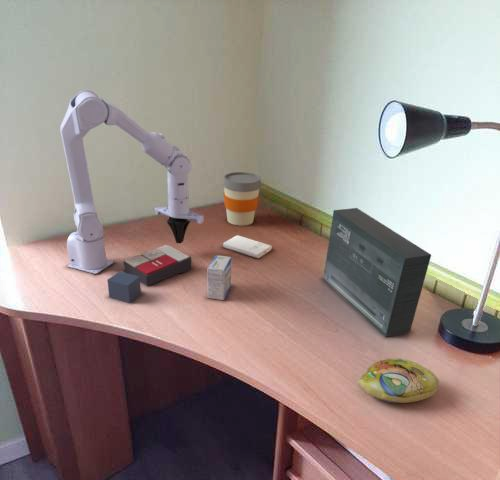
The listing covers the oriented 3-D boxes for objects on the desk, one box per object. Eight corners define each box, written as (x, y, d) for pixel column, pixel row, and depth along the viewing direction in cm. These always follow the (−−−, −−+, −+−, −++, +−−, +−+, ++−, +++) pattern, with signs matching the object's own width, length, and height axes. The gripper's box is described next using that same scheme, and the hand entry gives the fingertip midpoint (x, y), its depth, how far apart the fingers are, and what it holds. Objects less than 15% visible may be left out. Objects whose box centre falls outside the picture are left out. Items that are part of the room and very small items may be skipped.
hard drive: (237, 239, 156) (271, 249, 150) (222, 247, 150) (257, 259, 144) (237, 234, 155) (271, 244, 149) (222, 242, 149) (257, 254, 144)
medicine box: (223, 301, 123) (224, 270, 118) (206, 298, 124) (207, 267, 119) (231, 286, 130) (232, 256, 125) (214, 284, 130) (215, 254, 126)
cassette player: (410, 331, 116) (431, 254, 105) (385, 337, 113) (404, 258, 103) (344, 276, 138) (356, 207, 127) (323, 279, 136) (333, 210, 125)
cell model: (450, 399, 92) (386, 381, 87) (423, 421, 97) (361, 404, 92) (432, 355, 100) (372, 336, 95) (408, 377, 105) (349, 360, 100)
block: (109, 297, 122) (107, 279, 119) (121, 288, 126) (119, 271, 123) (129, 303, 120) (128, 285, 117) (141, 294, 124) (139, 276, 121)
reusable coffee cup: (218, 225, 165) (219, 181, 157) (226, 212, 175) (227, 170, 167) (255, 229, 163) (258, 185, 155) (261, 216, 174) (263, 173, 166)
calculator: (122, 259, 131) (166, 242, 140) (124, 273, 134) (168, 255, 143) (146, 273, 125) (191, 254, 134) (148, 288, 128) (192, 268, 137)
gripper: (208, 196, 136) (208, 241, 143) (163, 187, 141) (165, 232, 148) (196, 204, 131) (197, 251, 138) (149, 195, 135) (152, 240, 142)
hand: (179, 241), depth 142 cm, fingers closed
